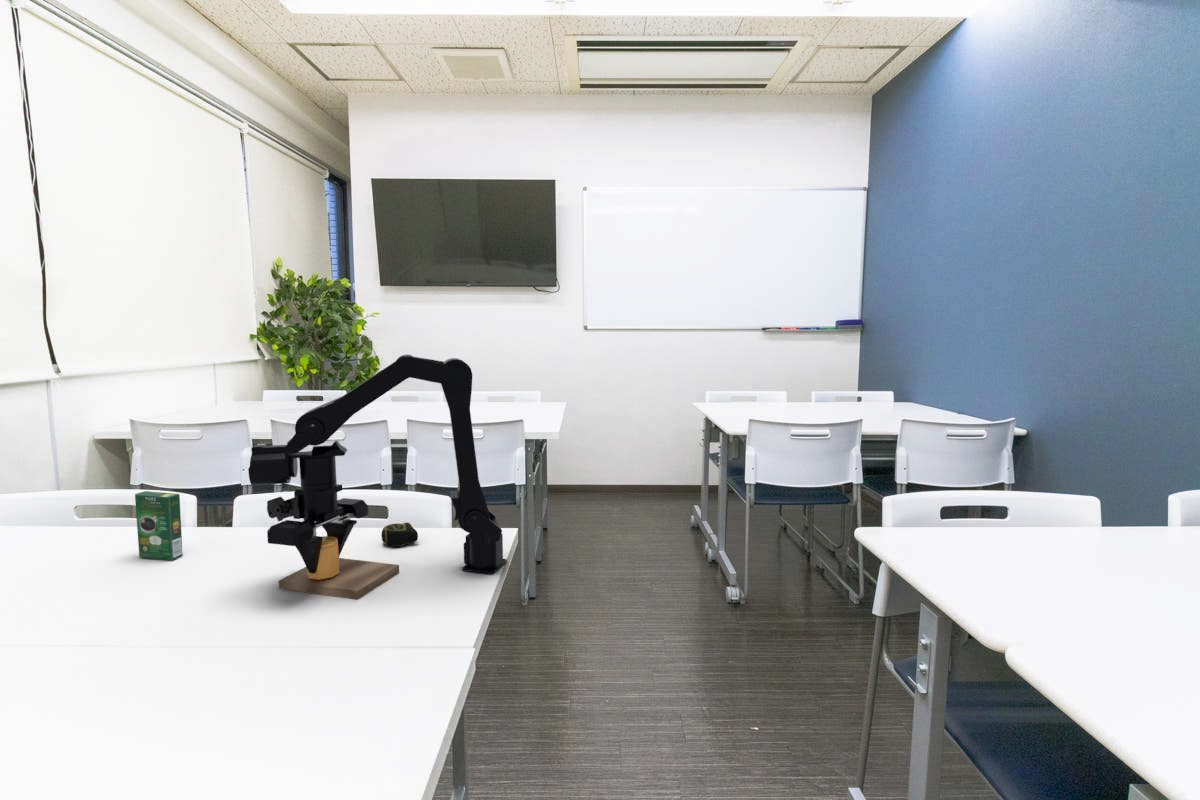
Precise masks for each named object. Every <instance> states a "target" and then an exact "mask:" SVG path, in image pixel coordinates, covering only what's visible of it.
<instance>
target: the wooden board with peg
mask: <svg viewBox="0 0 1200 800" xmlns="http://www.w3.org/2000/svg"><path fill="white" fill-rule="evenodd" d="M339 571H340V573H339V574H337V575H335V576H333V577H331V578H325V579H320V580H317V579H309V578H308V571H307V567H306V566H305V567H302V568H301V569H299V570H296V571H294V572H292V573H291V574H289V575H287V576H285V577H283V578H281V579H279V580H278V588H279V590H287V591H293V592H300V593H309V594H315V595H321V596H329V597H337V598H343V599H344V598H345V599H353V600H359V599H361V598H362V597H364V596H366V595H367V594H369V593H370V592H372V591H373V590H375V589H376V588H378V587H380V586H381V585H382V584H384V583H386V582H387V581H388V580H390V579H392V578H394V577H395V576H396V575H398V574H399V573H400V564H394V563H385V562H379V561H377V562H376V561H368V560H359V559H354V558H353V559H351V558H342V557H339Z"/></svg>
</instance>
